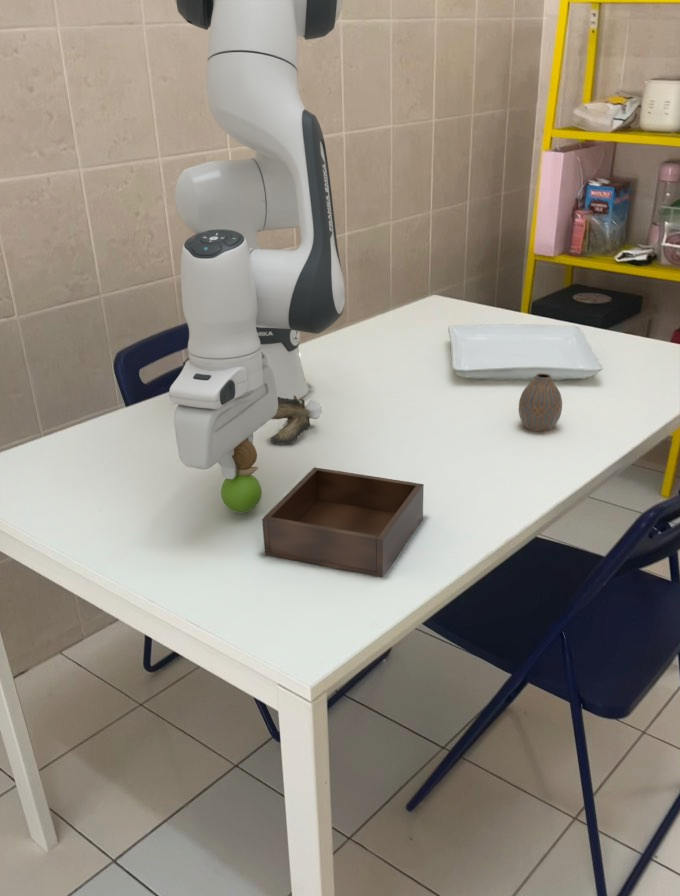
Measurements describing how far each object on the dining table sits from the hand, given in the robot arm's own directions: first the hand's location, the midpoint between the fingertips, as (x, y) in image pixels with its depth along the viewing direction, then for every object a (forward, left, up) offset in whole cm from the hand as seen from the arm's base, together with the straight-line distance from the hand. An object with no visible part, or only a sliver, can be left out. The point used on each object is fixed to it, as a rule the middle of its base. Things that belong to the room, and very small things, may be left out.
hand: (236, 471), depth 115 cm
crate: (+16, -1, -6) cm, 17 cm away
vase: (+32, +43, -6) cm, 54 cm away
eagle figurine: (-5, +27, -6) cm, 28 cm away
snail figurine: (0, 0, -6) cm, 6 cm away
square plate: (+22, +74, -6) cm, 77 cm away
